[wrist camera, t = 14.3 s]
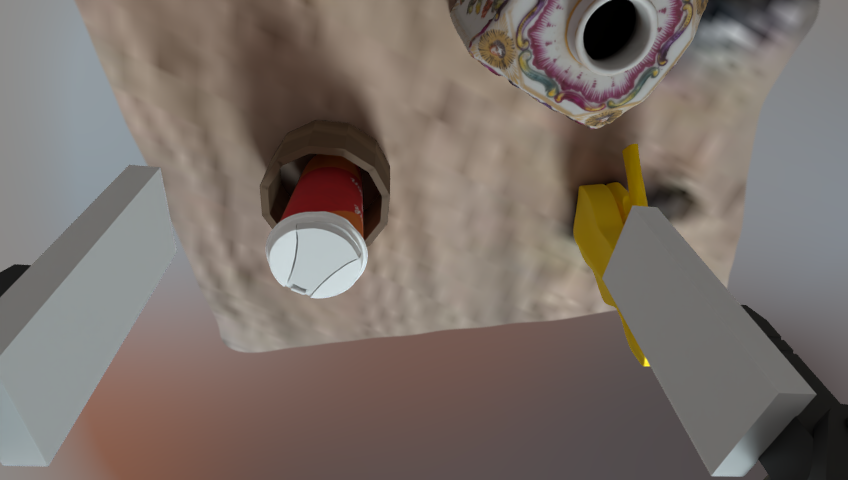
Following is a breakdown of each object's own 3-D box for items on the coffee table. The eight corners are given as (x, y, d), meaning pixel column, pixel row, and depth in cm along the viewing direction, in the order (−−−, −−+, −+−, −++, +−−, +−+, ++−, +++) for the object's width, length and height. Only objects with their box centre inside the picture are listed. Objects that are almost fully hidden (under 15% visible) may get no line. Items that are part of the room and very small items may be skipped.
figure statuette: (618, 263, 61) (715, 419, 43) (555, 271, 61) (624, 429, 43) (640, 127, 50) (780, 256, 32) (564, 136, 50) (660, 269, 32)
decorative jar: (635, -43, 42) (770, -9, 27) (550, 79, 47) (623, 163, 32) (522, -131, 38) (606, -148, 23) (443, 13, 43) (470, 74, 28)
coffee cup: (349, 222, 55) (337, 316, 43) (280, 189, 52) (246, 279, 40) (387, 164, 51) (386, 248, 39) (314, 124, 48) (288, 202, 36)
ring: (270, 116, 48) (256, 141, 43) (393, 127, 49) (393, 152, 44) (276, 219, 54) (265, 252, 49) (384, 227, 56) (384, 259, 51)
